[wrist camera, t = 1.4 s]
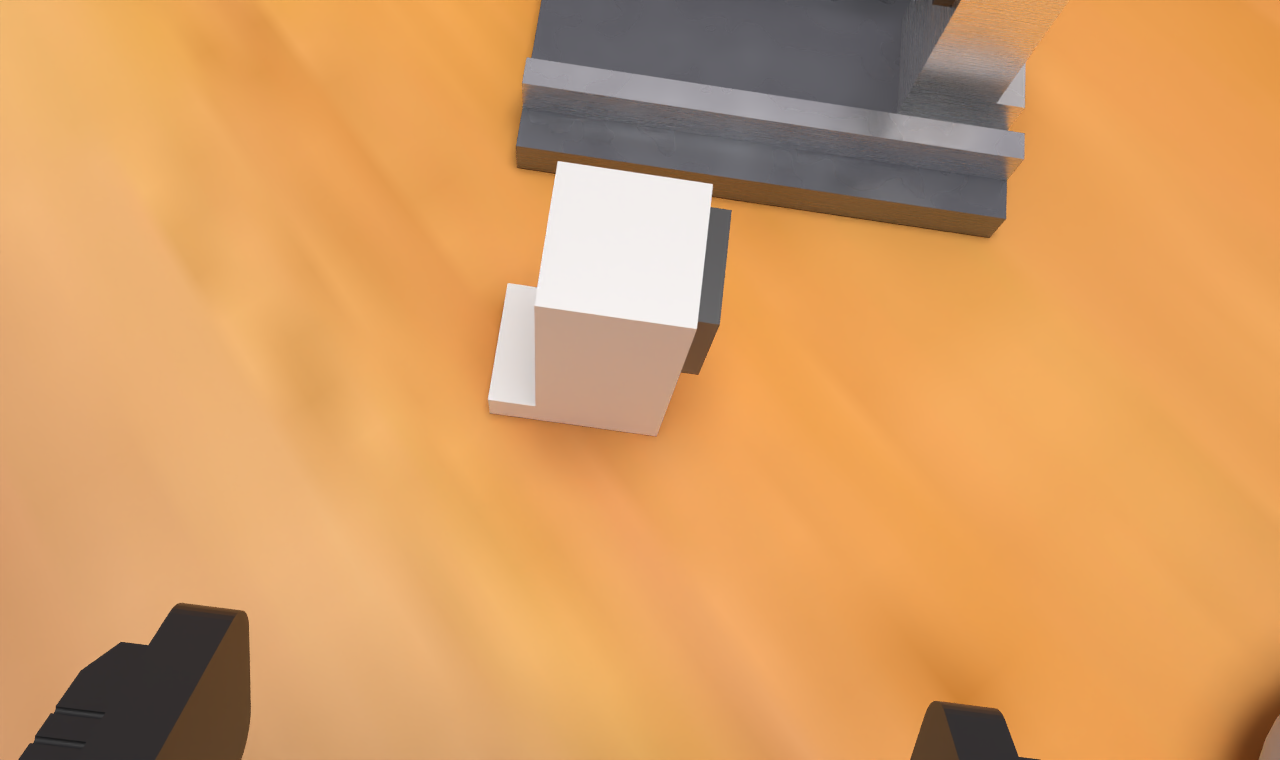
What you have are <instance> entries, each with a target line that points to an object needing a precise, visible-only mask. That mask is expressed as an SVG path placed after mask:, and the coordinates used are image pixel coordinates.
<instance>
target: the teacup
mask: <svg viewBox="0 0 1280 760" xmlns="http://www.w3.org/2000/svg"><path fill="white" fill-rule="evenodd" d="M1259 760H1280V715H1279V716H1278V717H1277V719H1276V720H1275V722H1274V724H1273V726H1272V728H1271V729H1270V731H1269V733H1268V735H1267V737H1266V739H1265V742H1264V745H1263V748H1262V751H1261V754H1260V757H1259Z"/></svg>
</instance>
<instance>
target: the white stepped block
mask: <svg viewBox="0 0 1280 760" xmlns="http://www.w3.org/2000/svg"><path fill="white" fill-rule="evenodd" d="M712 189H713V184H709V183H702V182H695V181H689V180H682V179H675V178H669V177H662V176H655V175H648V174H642V173H635V172H628V171H622V170H615V169H608V168H601V167H595V166H588V165H581V164H575V163H568V162H561V161H558V162H557V169H556V175H555V181H554V187H553V193H552V200H551V206H550V212H549V218H548V224H547V231H546V237H545V243H544V249H543V255H542V262H541V268H540V274H539V280H538V286H537V287H531V286H524V285H517V284H510V283H508V285H507V291H506V297H505V302H504V308H503V314H502V320H501V326H500V332H499V338H498V343H497V349H496V355H495V361H494V367H493V373H492V379H491V384H490V390H489V396H488V404H489V411H490V413H492V414H500V415H507V416H514V417H521V418H528V419H536V420H543V421H550V422H557V423H564V424H572V425H579V426H586V427H593V428H600V429H608V430H615V431H622V432H629V433H636V434H644V435H651V436H657V434H658V431H659V429H660V426H661V423H662V421H663V418H664V415H665V413H666V410H667V407H668V405H669V402H670V399H671V397H672V394H673V391H674V389H675V386H676V383H677V381H678V378H679V375H680V373H681V372H682V373H689V374H696V375H698V374H699V372H700V370H701V367H702V365H703V363H704V360H705V358H706V356H707V353H708V351H709V348H710V346H711V344H712V341H713V339H714V337H715V334H716V332H717V330H718V327H719V325H720V316H721V307H722V297H723V288H724V278H725V268H726V259H727V249H728V240H729V230H730V220H731V211H732V210H726V209H719V208H712V207H711V198H712Z"/></svg>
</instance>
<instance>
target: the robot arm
mask: <svg viewBox="0 0 1280 760" xmlns="http://www.w3.org/2000/svg"><path fill="white" fill-rule="evenodd" d="M250 714H251V700H250V653H249V622H248V617H247V614H246V613H245V612H244V611H241V610H233V609H225V608H217V607H209V606H201V605H193V604H186V603H179V604H177V605H175V606H174V607H173V608H172V610H171V611H170V613H169V614H168V616H167V617H166V619H165V620H164V622H163V623H162V625H161V627H160V628H159V630H158V631H157V633H156V634H155V636H154V637H153V639H152V641H151V642H150V644H149V645H141V644H133V643H125V642H120V643H119V644H118V645H116V646H115V647H113V648H112V649H111V650H109V651H108V652H106V653H105V654H104V655H102V656H101V657H99V658H98V659H97V660H95V661H94V662H92V663H91V664H89V665H88V666H87V667H85V668H84V669H82V670H81V671H80V673H79V674H78V675H77V677H76V678H75V680H74V681H73V683H72V684H71V685H70V687H69V688H68V690H67V691H66V693H65V694H64V695H63V697H62V698H61V700H60V701H59V703H58V704H57V705H56V710H55V712H54V714H52V713H51V714H50V715H49V717H48V718H47V720H46V721H45V722H44V724H43V725H42V727H41V728H40V730H39V731H38V732H37V734H36V735H35V741H34V743H30V744H29V745H28V747H27V748H26V750H25V751H24V752H23V754H22V755H21V757H20V758H19V760H241V758H242V755H243V752H244V749H245V745H246V741H247V736H248V731H249V724H250ZM910 760H1039V759H1031V758H1023V757H1018V754H1017V751H1016V749H1015V746H1014V743H1013V740H1012V738H1011V735H1010V732H1009V730H1008V727H1007V724H1006V721H1005V719H1004V717H1003V715H1002V713H1001V712H1000V711H999V710H998V709H995V708H988V707H980V706H972V705H964V704H956V703H948V702H940V701H934V702H932V703H931V704H930V705H929V707H928V709H927V711H926V714H925V716H924V719H923V722H922V725H921V729H920V732H919V735H918V738H917V741H916V744H915V747H914V750H913V753H912V756H911V759H910Z"/></svg>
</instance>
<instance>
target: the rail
mask: <svg viewBox="0 0 1280 760" xmlns="http://www.w3.org/2000/svg"><path fill="white" fill-rule="evenodd" d="M1068 2H1069V0H542V1H541V7H540V13H539V18H538V24H537V30H536V35H535V41H534V47H533V53H532V58H527V59H526V65H525V70H524V76H523V82H522V94H523V110H522V115H521V121H520V127H519V132H518V138H517V144H516V156H517V168H524V169H531V170H537V171H544V172H551V173H556V169H557V162H558V161H561V162H568V163H575V164H581V165H588V166H595V167H601V168H608V169H615V170H622V171H628V172H635V173H642V174H648V175H655V176H662V177H669V178H675V179H682V180H689V181H695V182H702V183H709V184H713V189H712V196H713V197H719V198H726V199H733V200H740V201H746V202H753V203H760V204H767V205H773V206H780V207H787V208H794V209H800V210H807V211H814V212H821V213H827V214H834V215H841V216H848V217H854V218H861V219H868V220H875V221H881V222H888V223H895V224H901V225H908V226H915V227H922V228H928V229H935V230H942V231H949V232H955V233H962V234H969V235H976V236H982V237H989V238H990V237H991V235H992V234H993V233H994V232H995V231H996V230H997V229H998V227H999V226H1000V225H1001V224H1002V223H1003V222H1004V221H1005V220H1006V193H1007V180H1008V178H1009V177H1010V176H1011V175H1012V173H1013V172H1014V171H1015V170H1016V169H1017V167H1018V166H1019V165H1020V164H1021V163H1022V161H1023V160H1024V134H1025V133H1019V132H1012V131H1008V129H1009V128H1010V127H1011V125H1012V124H1013V123H1014V122H1015V120H1016V119H1017V118H1018V116H1019V115H1020V114H1021V112H1022V111H1023V110H1024V108H1025V62H1026V61H1027V60H1028V58H1029V57H1030V55H1031V54H1032V52H1033V51H1034V50H1035V48H1036V47H1037V45H1038V44H1039V43H1040V41H1041V40H1042V38H1043V37H1044V36H1045V34H1046V33H1047V31H1048V30H1049V28H1050V27H1051V26H1052V24H1053V23H1054V21H1055V20H1056V19H1057V17H1058V16H1059V14H1060V13H1061V12H1062V10H1063V9H1064V7H1065V6H1066V4H1067V3H1068Z"/></svg>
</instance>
